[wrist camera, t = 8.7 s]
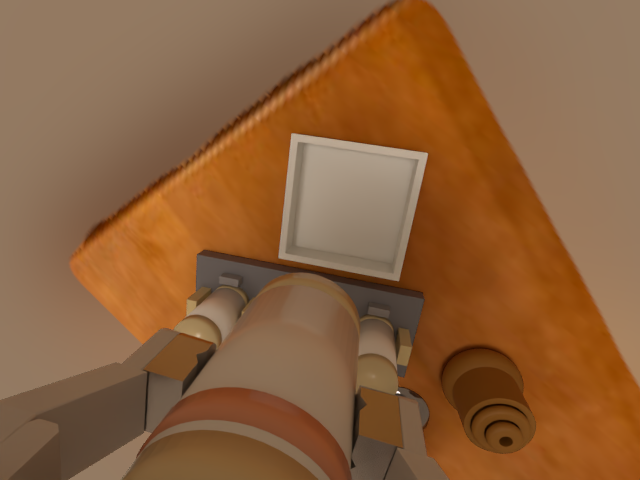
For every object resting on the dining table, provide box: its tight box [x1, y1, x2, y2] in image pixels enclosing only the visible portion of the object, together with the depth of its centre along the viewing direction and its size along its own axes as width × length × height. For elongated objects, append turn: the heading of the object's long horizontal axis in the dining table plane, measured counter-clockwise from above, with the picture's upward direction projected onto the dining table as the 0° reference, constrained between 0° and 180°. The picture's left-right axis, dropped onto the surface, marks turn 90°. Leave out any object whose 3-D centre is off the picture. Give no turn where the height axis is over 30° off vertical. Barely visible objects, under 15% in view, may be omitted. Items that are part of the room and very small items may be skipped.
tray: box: [278, 133, 428, 281], centre depth 30 cm, size 11×11×3 cm
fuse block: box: [187, 250, 425, 377], centre depth 33 cm, size 9×23×4 cm, turn 82°
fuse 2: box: [356, 314, 398, 395], centre depth 30 cm, size 4×4×8 cm
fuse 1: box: [174, 284, 249, 350], centre depth 31 cm, size 4×4×8 cm
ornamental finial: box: [442, 349, 536, 454], centre depth 31 cm, size 8×8×8 cm
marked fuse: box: [121, 273, 360, 480], centre depth 8 cm, size 4×4×8 cm
